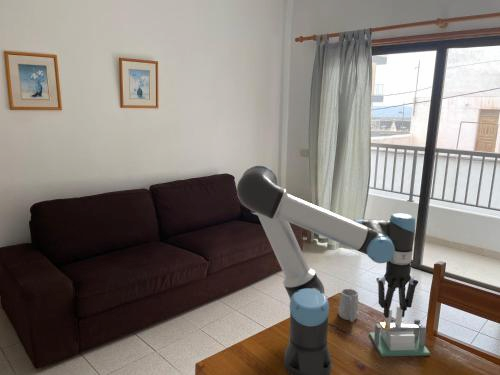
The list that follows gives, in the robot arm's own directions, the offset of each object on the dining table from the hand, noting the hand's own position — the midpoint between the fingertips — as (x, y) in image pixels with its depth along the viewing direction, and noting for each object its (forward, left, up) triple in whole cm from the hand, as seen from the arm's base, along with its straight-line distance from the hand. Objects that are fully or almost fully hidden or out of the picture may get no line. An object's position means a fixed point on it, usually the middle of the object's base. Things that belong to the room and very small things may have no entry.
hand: (392, 325), depth 130 cm
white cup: (-10, +17, -8) cm, 21 cm away
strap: (+3, 0, -1) cm, 3 cm away
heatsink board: (+2, 0, -7) cm, 8 cm away
